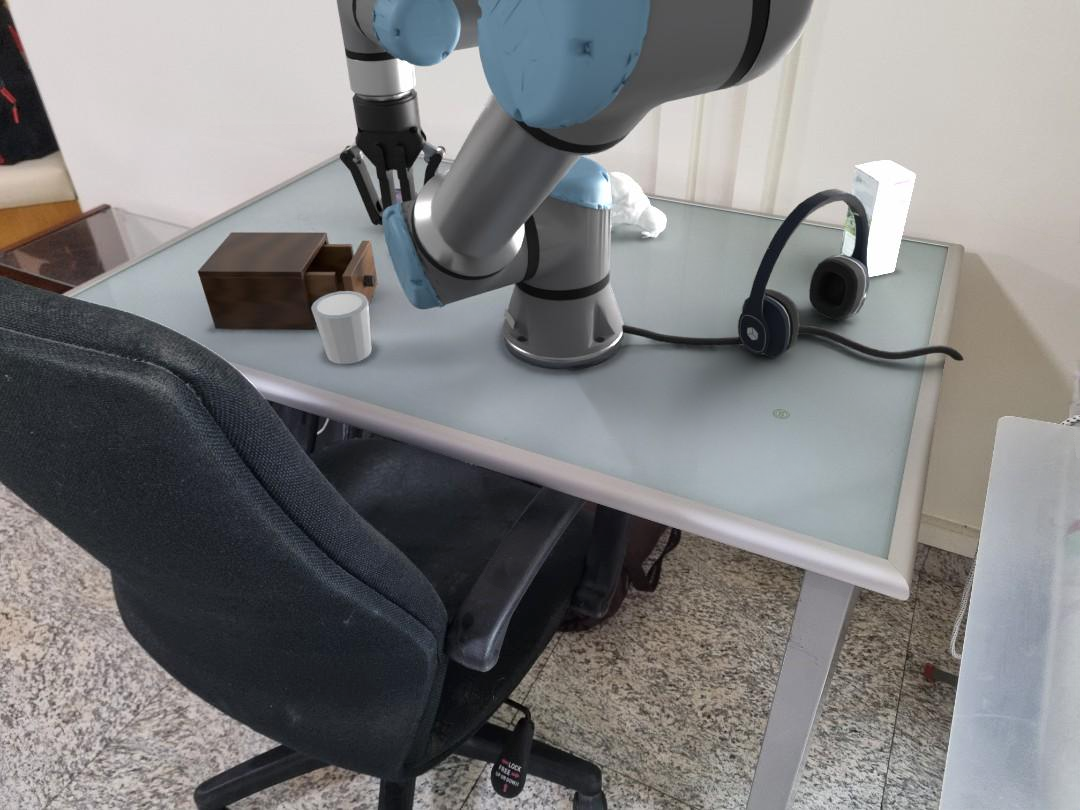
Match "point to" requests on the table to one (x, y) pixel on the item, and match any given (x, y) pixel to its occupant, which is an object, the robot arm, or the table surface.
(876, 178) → the syrup box
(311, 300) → the drawer
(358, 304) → the shot glass
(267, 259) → the cabinet
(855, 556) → the table surface
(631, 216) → the white figurine
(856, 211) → the headphones
